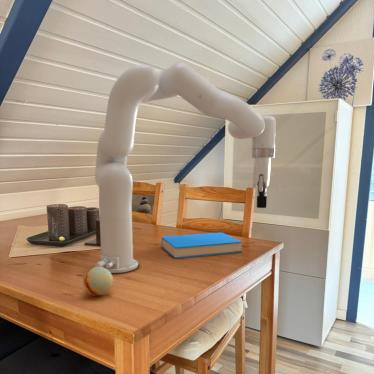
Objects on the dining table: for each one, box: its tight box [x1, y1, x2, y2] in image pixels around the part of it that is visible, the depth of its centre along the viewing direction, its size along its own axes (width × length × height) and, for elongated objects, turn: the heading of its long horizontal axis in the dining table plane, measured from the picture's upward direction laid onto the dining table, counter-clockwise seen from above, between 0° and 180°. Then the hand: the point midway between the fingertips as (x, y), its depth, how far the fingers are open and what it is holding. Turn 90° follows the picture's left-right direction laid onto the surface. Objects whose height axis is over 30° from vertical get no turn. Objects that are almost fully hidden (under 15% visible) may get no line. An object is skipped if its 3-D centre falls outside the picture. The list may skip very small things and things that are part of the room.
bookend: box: [84, 218, 101, 247], centre depth 139 cm, size 14×9×10 cm, turn 163°
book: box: [161, 232, 243, 260], centre depth 128 cm, size 17×4×25 cm
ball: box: [82, 266, 114, 297], centre depth 85 cm, size 7×7×7 cm
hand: (261, 207), depth 122 cm, fingers closed
